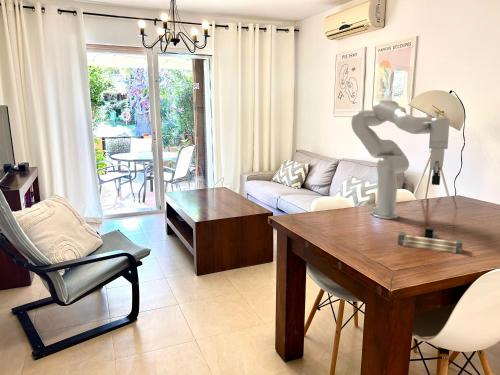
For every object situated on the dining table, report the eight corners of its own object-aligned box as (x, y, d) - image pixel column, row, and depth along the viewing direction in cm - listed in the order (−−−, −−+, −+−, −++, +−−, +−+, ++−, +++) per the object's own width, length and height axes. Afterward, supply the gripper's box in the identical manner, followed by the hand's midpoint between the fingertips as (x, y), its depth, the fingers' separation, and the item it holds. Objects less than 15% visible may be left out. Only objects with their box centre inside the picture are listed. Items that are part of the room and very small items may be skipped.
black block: (435, 244, 156) (436, 233, 155) (417, 241, 160) (417, 230, 159) (439, 235, 167) (440, 225, 166) (421, 233, 170) (422, 223, 170)
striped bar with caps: (397, 244, 154) (398, 235, 153) (399, 240, 159) (399, 231, 158) (461, 254, 143) (462, 244, 142) (461, 249, 148) (462, 239, 147)
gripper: (429, 144, 177) (427, 179, 180) (428, 146, 162) (425, 185, 165) (447, 144, 174) (445, 180, 177) (448, 146, 159) (445, 186, 162)
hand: (435, 183), depth 171 cm, fingers open, 9 cm apart
